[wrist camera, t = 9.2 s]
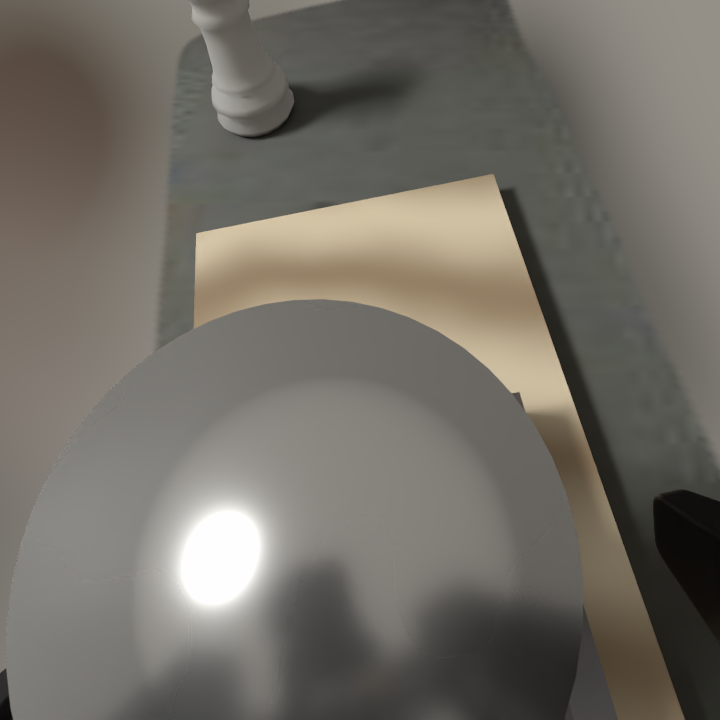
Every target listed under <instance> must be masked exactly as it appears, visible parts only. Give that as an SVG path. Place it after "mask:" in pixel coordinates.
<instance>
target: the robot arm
mask: <svg viewBox="0 0 720 720" xmlns="http://www.w3.org/2000/svg"><path fill="white" fill-rule="evenodd" d="M653 516H654V531H655V542H656V546H657V549H658V551H659V553H660V555H661V557H662V558H663V560H664V562H665V563H666V565H667V566H668V568H669V569H670V571H671V572H672V574H673V575H674V577H675V578H676V580H677V581H678V583H679V584H680V586H681V587H682V589H683V590H684V592H685V593H686V595H687V596H688V598H689V599H690V601H691V602H692V604H693V605H694V607H695V608H696V610H697V611H698V613H699V614H700V616H701V617H702V619H703V620H704V622H705V623H706V625H707V626H708V628H709V629H710V631H711V632H712V634H713V635H714V637H715V638H716V640H717V641H718V643H719V644H720V501H717V500H714V499H711V498H708V497H705V496H702V495H699V494H696V493H694V492H691V491H687V490H675V491H671V492H666V493H662V494H658V495H657V496H656V497H655V498H654V500H653ZM0 720H13V717H12V712H11V707H10V698H9V689H8V680H7V670H6V669H5V670H4V671H2V672H1V673H0Z"/></svg>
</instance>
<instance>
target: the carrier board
mask: <svg viewBox="0 0 720 720" xmlns="http://www.w3.org/2000/svg"><path fill="white" fill-rule="evenodd" d="M312 299H327V300H338V301H349V302H356V303H360V304H365V305H370V306H375V307H379V308H383V309H386V310H389V311H392V312H395V313H398V314H401V315H404V316H407V317H410V318H412V319H414V320H416V321H418V322H420V323H422V324H424V325H426V326H428V327H430V328H432V329H434V330H437V331H438V332H440V333H441V334H443V335H445V336H446V337H448V338H449V339H451V340H452V341H454V342H455V343H457V344H458V345H460V346H462V347H463V348H465V349H466V350H467V351H468V352H469V353H471V354H472V355H473V356H474V357H475V358H477V359H478V360H479V361H480V362H481V363H482V364H484V365H485V366H486V367H487V368H488V369H490V370H491V372H492V373H493V374H494V375H495V376H496V377H497V378H498V379H499V380H500V381H501V382H502V383H503V384H504V386H505V387H506V388H507V389H508V390H509V391H510V392H511V393H512V394H513V395H514V397H515V398H516V400H517V401H518V402H519V404H520V405H521V407H522V408H523V409H524V411H525V412H526V413H527V415H528V416H529V418H530V419H531V420H532V422H533V423H534V425H535V427H536V428H537V430H538V432H539V434H540V436H541V438H542V439H543V441H544V443H545V445H546V447H547V449H548V450H549V452H550V454H551V456H552V458H553V460H554V463H555V466H556V468H557V471H558V473H559V476H560V478H561V481H562V483H563V486H564V489H565V491H566V494H567V497H568V501H569V505H570V509H571V513H572V517H573V521H574V525H575V529H576V532H577V537H578V545H579V553H580V561H581V569H582V577H583V629H582V636H581V644H580V651H579V659H578V666H577V673H576V678H575V682H574V686H573V689H572V693H571V697H570V700H569V704H568V708H567V711H566V715H565V719H564V720H685V719H684V716H683V713H682V710H681V707H680V704H679V702H678V699H677V696H676V693H675V690H674V687H673V684H672V682H671V679H670V676H669V673H668V670H667V667H666V664H665V662H664V659H663V656H662V653H661V650H660V647H659V645H658V642H657V639H656V636H655V633H654V630H653V627H652V625H651V622H650V619H649V616H648V613H647V610H646V608H645V605H644V602H643V599H642V596H641V593H640V590H639V588H638V585H637V582H636V579H635V576H634V573H633V570H632V568H631V565H630V562H629V559H628V556H627V553H626V551H625V548H624V545H623V542H622V539H621V536H620V533H619V531H618V528H617V525H616V522H615V519H614V516H613V514H612V511H611V508H610V505H609V502H608V499H607V496H606V494H605V491H604V488H603V485H602V482H601V479H600V477H599V474H598V471H597V468H596V465H595V462H594V459H593V457H592V454H591V451H590V448H589V445H588V442H587V439H586V437H585V434H584V431H583V428H582V425H581V422H580V420H579V417H578V414H577V411H576V408H575V405H574V402H573V400H572V397H571V394H570V391H569V388H568V385H567V383H566V380H565V377H564V374H563V371H562V368H561V365H560V363H559V360H558V357H557V354H556V351H555V348H554V345H553V343H552V340H551V337H550V334H549V331H548V328H547V326H546V323H545V320H544V317H543V314H542V311H541V308H540V306H539V303H538V300H537V297H536V294H535V291H534V289H533V286H532V283H531V280H530V277H529V274H528V271H527V269H526V266H525V263H524V260H523V257H522V254H521V252H520V249H519V246H518V243H517V240H516V237H515V234H514V232H513V229H512V226H511V223H510V220H509V217H508V214H507V212H506V209H505V206H504V203H503V200H502V197H501V195H500V192H499V189H498V186H497V183H496V180H495V177H494V175H493V174H491V175H486V176H481V177H476V178H471V179H466V180H461V181H456V182H451V183H446V184H441V185H436V186H431V187H426V188H421V189H416V190H411V191H406V192H401V193H396V194H391V195H386V196H381V197H376V198H371V199H366V200H361V201H356V202H351V203H346V204H341V205H336V206H331V207H326V208H321V209H316V210H311V211H306V212H301V213H296V214H291V215H286V216H281V217H276V218H271V219H266V220H261V221H256V222H251V223H246V224H241V225H236V226H231V227H226V228H221V229H216V230H211V231H206V232H201V233H196V267H195V302H194V329H195V328H197V327H199V326H201V325H203V324H205V323H207V322H209V321H212V320H214V319H217V318H220V317H222V316H225V315H228V314H231V313H233V312H236V311H239V310H243V309H247V308H251V307H255V306H259V305H263V304H269V303H276V302H283V301H290V300H312Z"/></svg>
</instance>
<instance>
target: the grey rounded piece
mask: <svg viewBox="0 0 720 720" xmlns="http://www.w3.org/2000/svg"><path fill="white" fill-rule="evenodd" d="M6 627H7V628H6V670H7V680H8V689H9V698H10V707H11V712H12V717H13V720H564V719H565V715H566V711H567V708H568V704H569V700H570V697H571V693H572V689H573V686H574V682H575V678H576V673H577V666H578V659H579V651H580V644H581V636H582V629H583V577H582V569H581V561H580V553H579V545H578V537H577V532H576V529H575V525H574V521H573V517H572V513H571V509H570V505H569V501H568V497H567V494H566V491H565V489H564V486H563V483H562V481H561V478H560V476H559V473H558V471H557V468H556V466H555V463H554V460H553V458H552V456H551V454H550V452H549V450H548V449H547V447H546V445H545V443H544V441H543V439H542V438H541V436H540V434H539V432H538V430H537V428H536V427H535V425H534V423H533V422H532V420H531V419H530V418H529V416H528V415H527V413H526V412H525V411H524V409H523V408H522V407H521V405H520V404H519V402H518V401H517V400H516V398H515V397H514V395H513V394H512V393H511V392H510V391H509V390H508V389H507V388H506V387H505V386H504V384H503V383H502V382H501V381H500V380H499V379H498V378H497V377H496V376H495V375H494V374H493V373H492V372H491V370H490V369H488V368H487V367H486V366H485V365H484V364H482V363H481V362H480V361H479V360H478V359H477V358H475V357H474V356H473V355H472V354H471V353H469V352H468V351H467V350H466V349H465V348H463V347H462V346H460V345H458V344H457V343H455V342H454V341H452V340H451V339H449V338H448V337H446V336H445V335H443V334H441V333H440V332H438V331H437V330H434V329H432V328H430V327H428V326H426V325H424V324H422V323H420V322H418V321H416V320H414V319H412V318H410V317H407V316H404V315H401V314H398V313H395V312H392V311H389V310H386V309H383V308H379V307H375V306H370V305H365V304H360V303H356V302H349V301H338V300H327V299H312V300H290V301H283V302H276V303H269V304H263V305H259V306H255V307H251V308H247V309H243V310H239V311H236V312H233V313H231V314H228V315H225V316H222V317H220V318H217V319H214V320H212V321H209V322H207V323H205V324H203V325H201V326H199V327H197V328H195V329H193V330H191V331H189V332H187V333H185V334H183V335H181V336H179V337H178V338H176V339H174V340H173V341H171V342H170V343H168V344H166V345H165V346H163V347H162V348H160V349H159V350H157V351H155V352H154V353H153V354H152V355H150V356H149V357H148V358H146V359H145V360H144V361H143V362H141V363H140V364H139V365H137V366H136V367H135V368H133V369H132V370H131V371H130V372H129V373H128V374H127V375H126V376H125V377H123V379H121V380H120V381H119V382H118V383H117V384H116V385H115V386H114V387H113V388H112V389H111V390H110V391H109V392H108V393H107V394H106V395H105V396H104V397H103V398H102V400H101V401H100V402H99V403H98V404H97V405H96V407H95V408H94V409H93V410H92V411H91V412H90V413H89V414H88V416H87V417H86V418H85V419H84V421H83V422H82V423H81V425H80V426H79V428H78V429H77V430H76V432H75V433H74V435H73V436H72V437H71V439H70V440H69V442H68V443H67V444H66V446H65V448H64V449H63V451H62V453H61V454H60V456H59V458H58V460H57V461H56V463H55V465H54V466H53V468H52V470H51V472H50V473H49V475H48V477H47V479H46V481H45V483H44V486H43V488H42V490H41V492H40V495H39V497H38V499H37V501H36V503H35V505H34V508H33V510H32V513H31V516H30V519H29V522H28V524H27V527H26V530H25V533H24V536H23V539H22V542H21V545H20V550H19V553H18V558H17V562H16V567H15V571H14V575H13V580H12V584H11V592H10V600H9V608H8V616H7V625H6Z"/></svg>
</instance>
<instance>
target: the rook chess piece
mask: <svg viewBox="0 0 720 720" xmlns="http://www.w3.org/2000/svg"><path fill="white" fill-rule="evenodd" d="M189 1H190V3H191V5H192V8H193V11H192V21H193V22H194V23H195V24H196V25H197V26H199V27H200V29H201V32H202V34H203V36H204V39H205V42H206V45H207V49H208V53H209V56H210V60H211V63H212V67H213V74H212V84H213V87H212V102H213V106H214V108H215V109H216V110H217V111H218V121H219V122H220V123H221V124H222V126H223V127H224V128H225V129H227V130H229V131H231V132H233V133H235V134H237V135H239V136H242V137H257V136H262V135H266V134H268V133H270V132H272V131H274V130H276V129H278V128H279V127H280V126H281V125H282V124H283V123H284V122H285V121H286V120H287V118H288V116H289V114H290V111H291V109H292V106H293V104H294V97H293V92H292V91H291V90H290V89H289V85H288V78H287V76H286V75H285V73H284V71H283V70H282V69H281V68H280V67H279V66H278V65H277V64H275V63H274V60H273V59H272V58H271V57H270V56H269V55H268V54H267V53H266V52H265V50H264V49H263V47H262V44H261V42H260V40H259V38H258V36H257V33H256V31H255V29H254V27H253V25H252V22H251V19H250V16H249V13H248V8H249V0H189Z"/></svg>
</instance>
